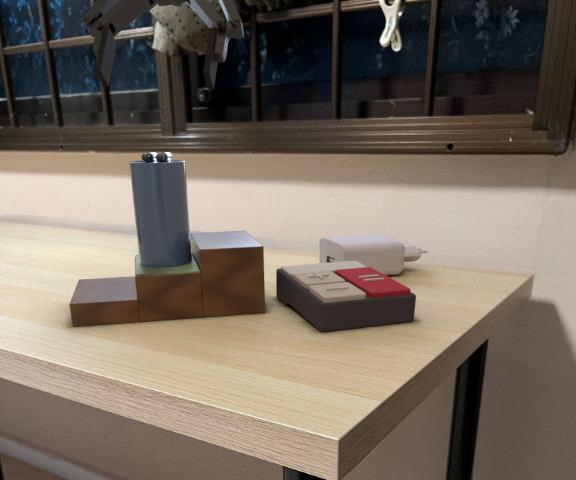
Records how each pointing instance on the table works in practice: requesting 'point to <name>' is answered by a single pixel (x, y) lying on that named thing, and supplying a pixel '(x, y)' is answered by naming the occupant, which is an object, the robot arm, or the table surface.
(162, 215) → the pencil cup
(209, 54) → the robot arm
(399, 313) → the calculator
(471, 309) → the table surface
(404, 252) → the charger
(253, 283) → the step shelf
